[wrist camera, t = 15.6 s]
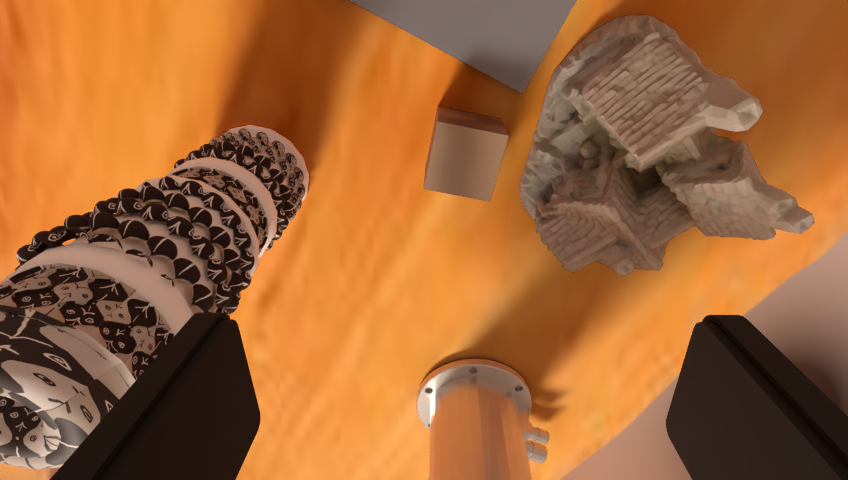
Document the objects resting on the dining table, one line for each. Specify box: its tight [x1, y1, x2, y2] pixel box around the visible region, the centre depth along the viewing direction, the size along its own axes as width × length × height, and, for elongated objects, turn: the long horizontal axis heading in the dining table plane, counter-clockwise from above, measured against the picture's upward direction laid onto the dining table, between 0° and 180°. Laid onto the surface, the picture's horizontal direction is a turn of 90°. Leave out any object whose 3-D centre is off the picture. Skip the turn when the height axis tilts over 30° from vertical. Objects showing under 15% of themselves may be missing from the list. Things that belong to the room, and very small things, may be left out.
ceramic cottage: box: [520, 15, 815, 275], centre depth 29 cm, size 16×16×15 cm
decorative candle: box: [0, 125, 309, 469], centre depth 26 cm, size 9×9×25 cm
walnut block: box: [424, 106, 509, 202], centre depth 33 cm, size 5×5×5 cm
